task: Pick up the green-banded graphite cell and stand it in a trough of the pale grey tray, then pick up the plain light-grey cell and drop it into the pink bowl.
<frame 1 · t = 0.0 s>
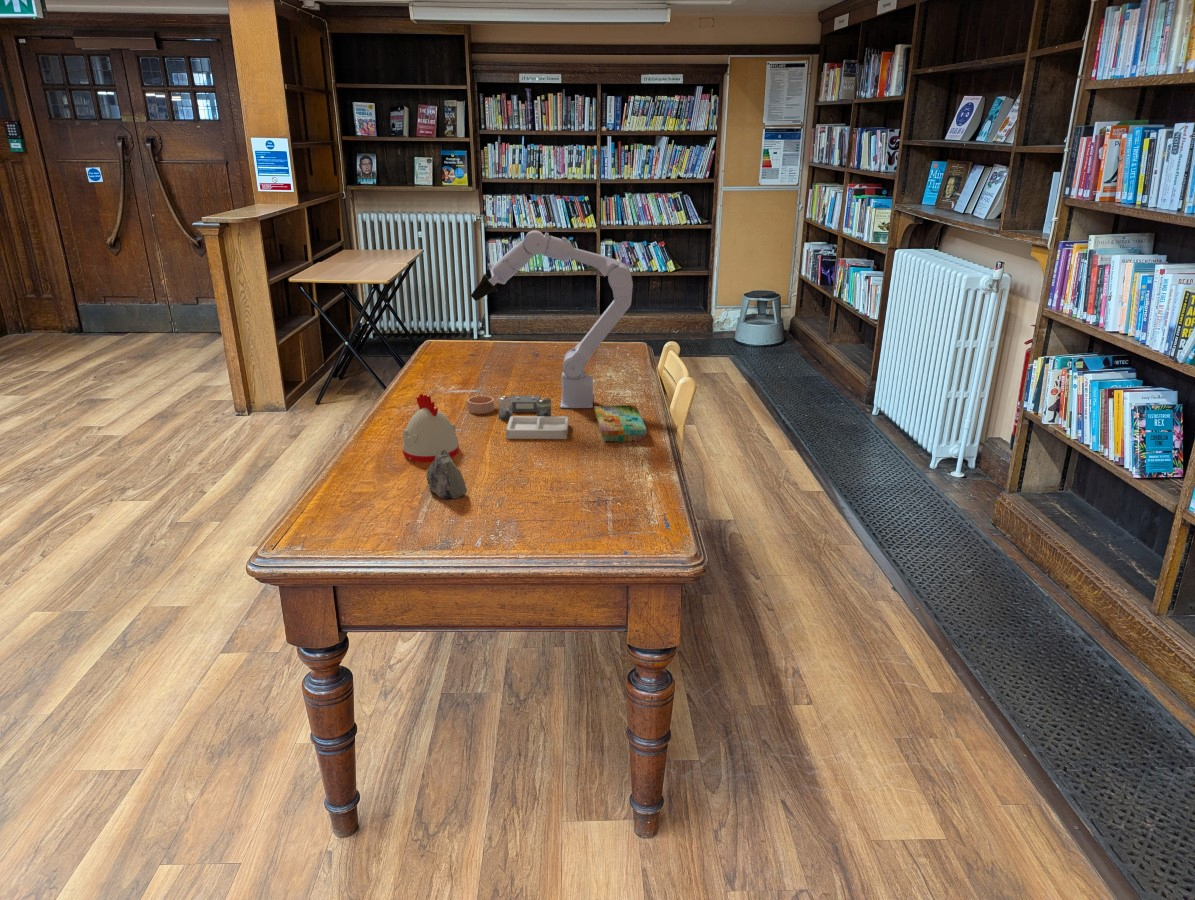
hand: (475, 295, 230), 32 cm above the table, tool tilted 50°, fingers open, 7 cm apart
mineral rock: (447, 489, 186), on the table
pink bowl: (481, 409, 237), on the table
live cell: (544, 420, 229), on the table
puzzle game: (619, 431, 222), on the table
tray: (538, 431, 220), on the table
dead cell: (505, 417, 230), on the table
kitchen timer: (431, 452, 206), on the table
grey box with knobs: (525, 408, 238), on the table
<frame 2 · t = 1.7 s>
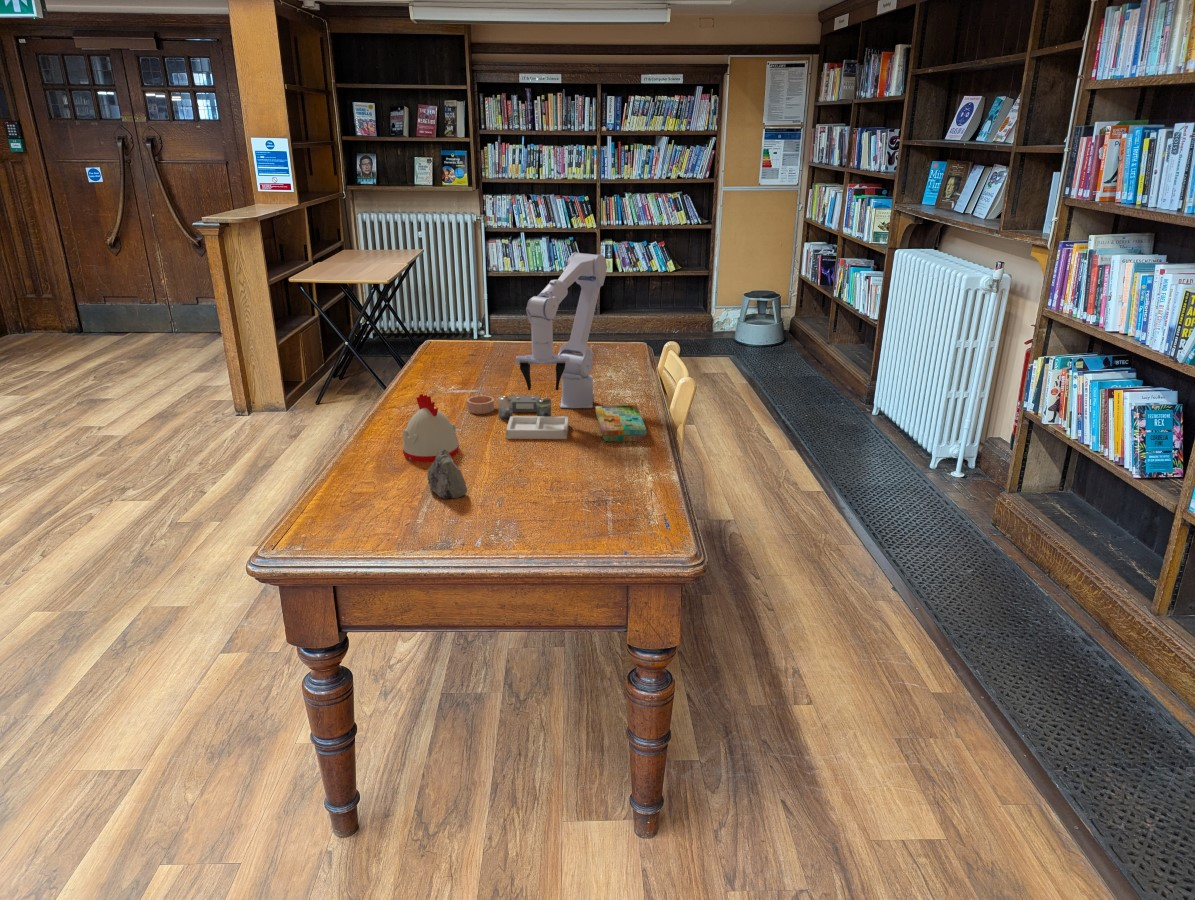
hand: (543, 389, 225), 9 cm above the table, tool pointing down, fingers open, 7 cm apart
nothing on the table moved.
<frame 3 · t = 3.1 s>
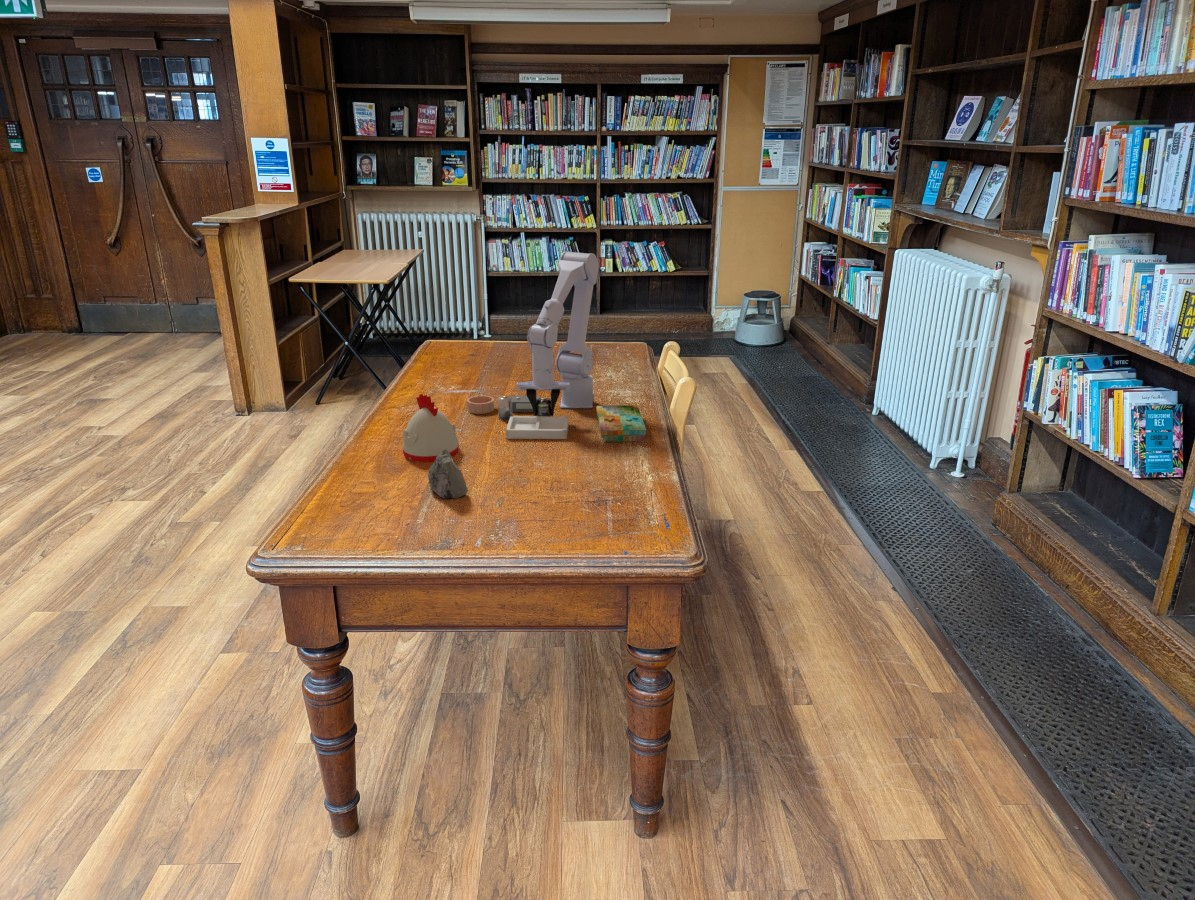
hand: (543, 414, 228), 2 cm above the table, tool pointing down, fingers closed on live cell, 4 cm apart
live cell: (544, 420, 228), on the table, touching gripper
everything else where it was.
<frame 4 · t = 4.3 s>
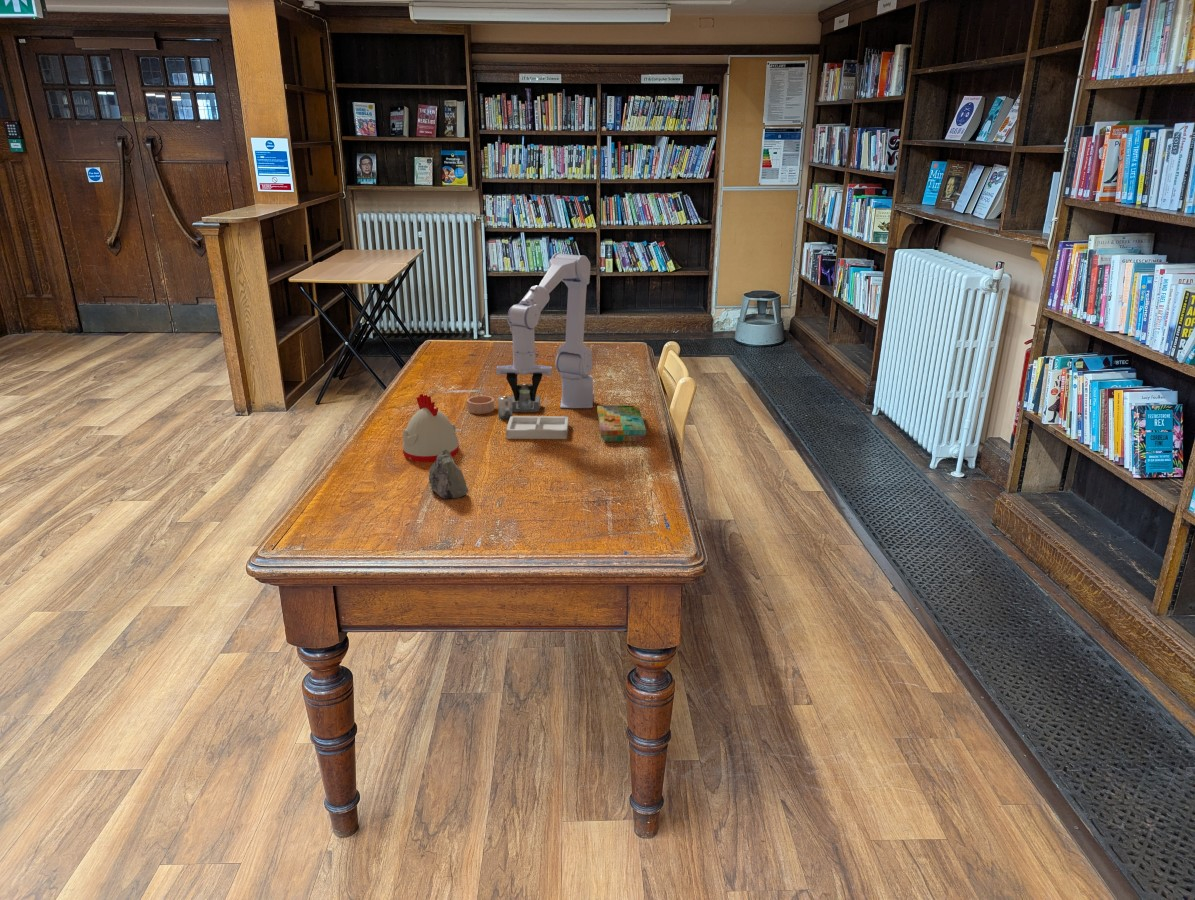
hand: (525, 400, 218), 9 cm above the table, tool pointing down, fingers closed on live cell, 4 cm apart
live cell: (525, 406, 219), point 7 cm above the table, touching gripper
everything else where it was.
when the fingers open (4 cm above the table, at t = 5.7 s): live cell stays where it is, resting on tray.
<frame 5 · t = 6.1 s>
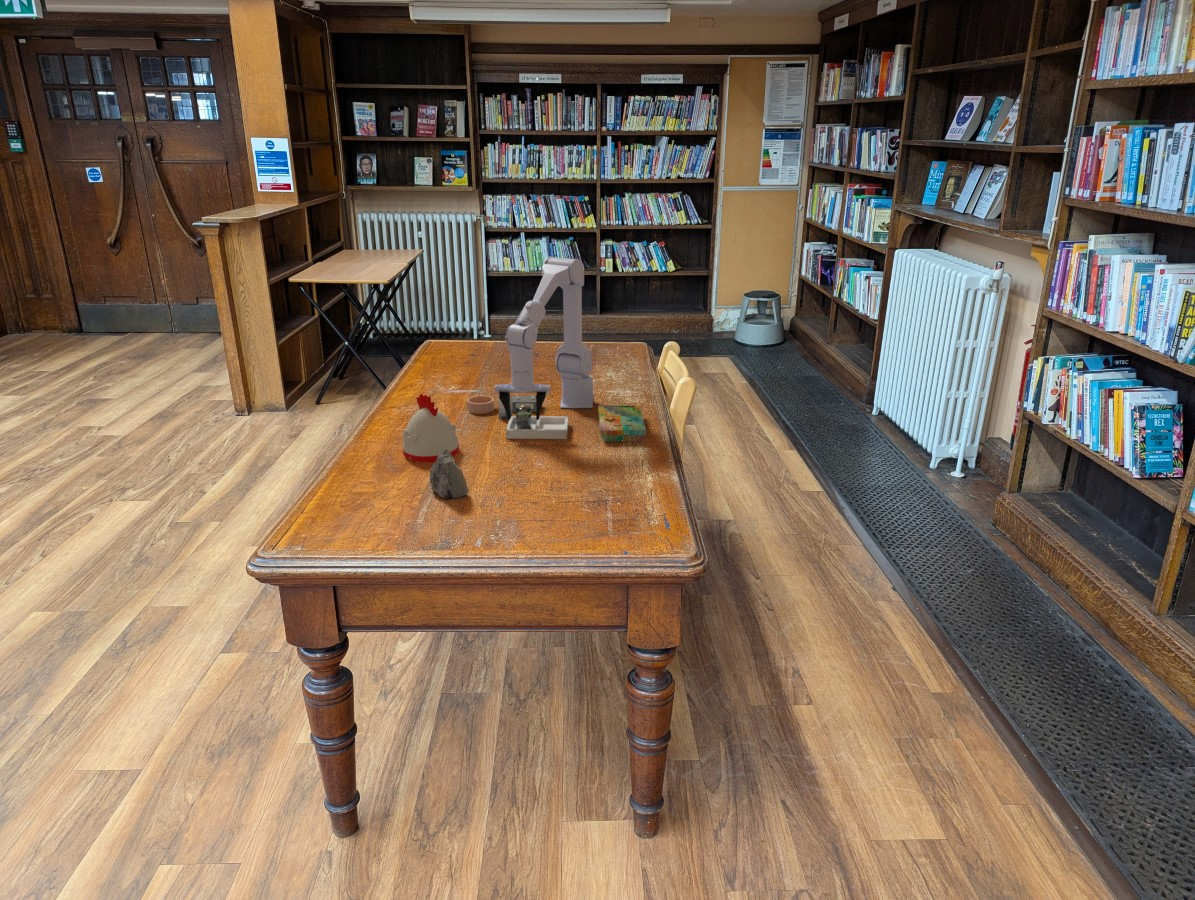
hand: (523, 418, 219), 4 cm above the table, tool pointing down, fingers open, 7 cm apart
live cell: (524, 428, 220), point 1 cm above the table, touching tray
everything else where it was.
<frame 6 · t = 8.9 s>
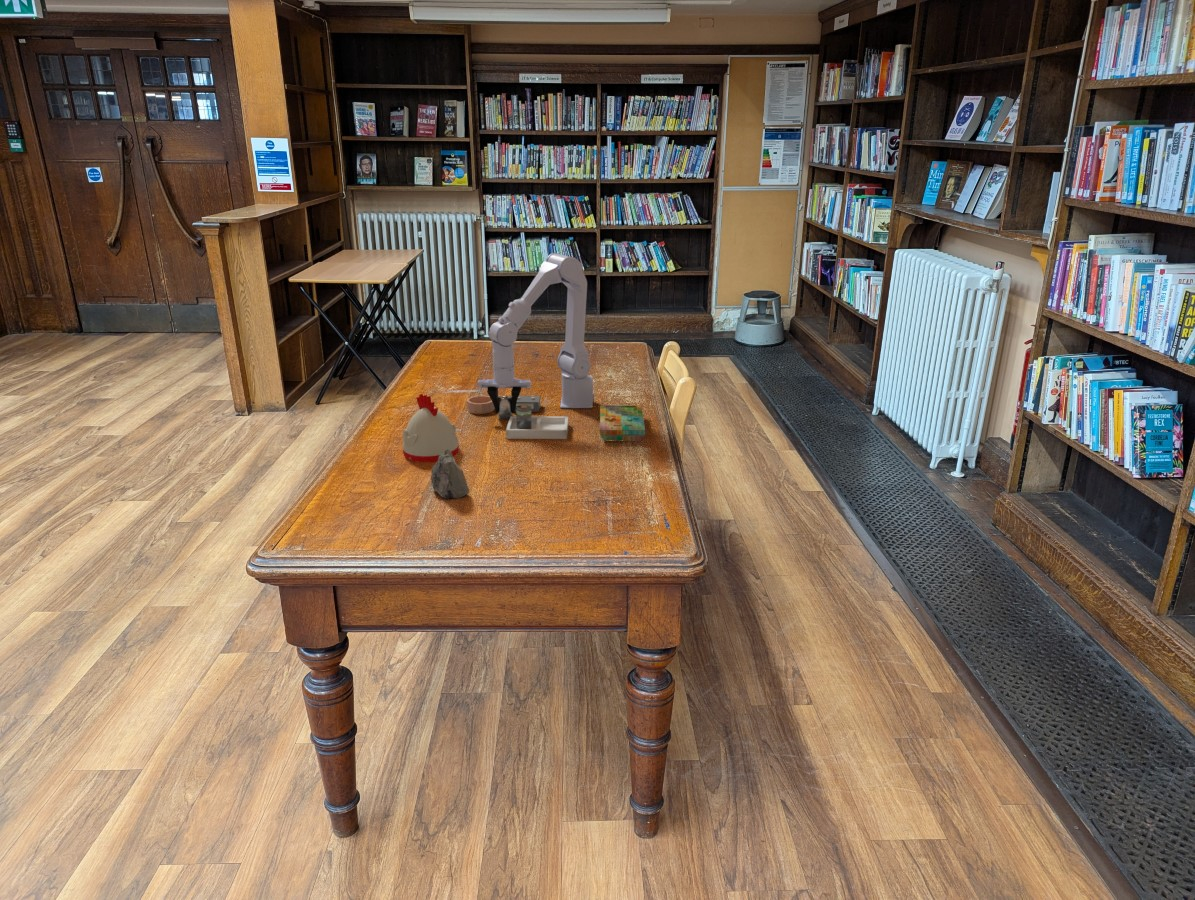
hand: (505, 412, 230), 2 cm above the table, tool pointing down, fingers closed on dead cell, 4 cm apart
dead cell: (505, 417, 230), on the table, touching gripper
everything else where it was.
when the fingers open (4 cm above the table, at t = 11.4 s): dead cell drops 2 cm, resting on pink bowl.
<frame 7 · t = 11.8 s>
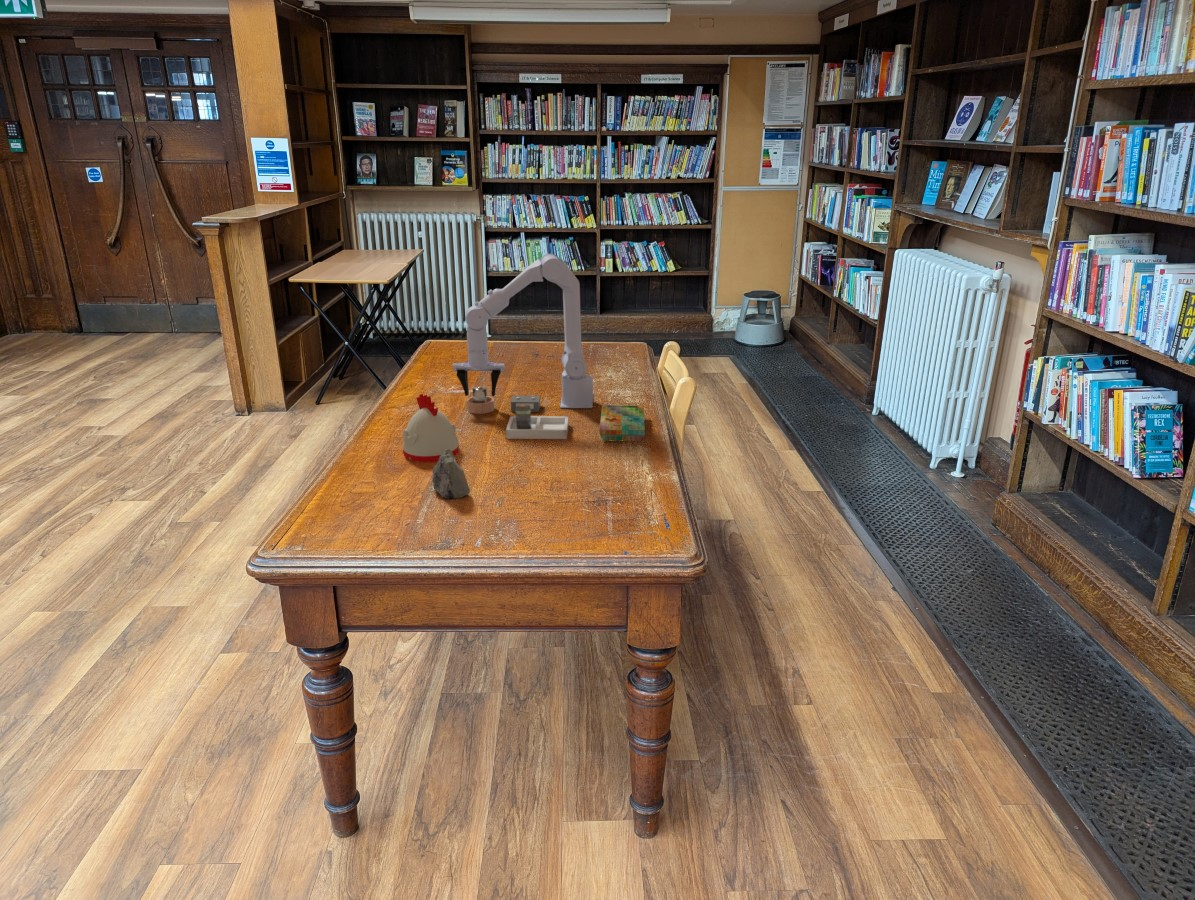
hand: (480, 395, 235), 4 cm above the table, tool pointing down, fingers open, 7 cm apart
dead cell: (480, 408, 237), resting on pink bowl
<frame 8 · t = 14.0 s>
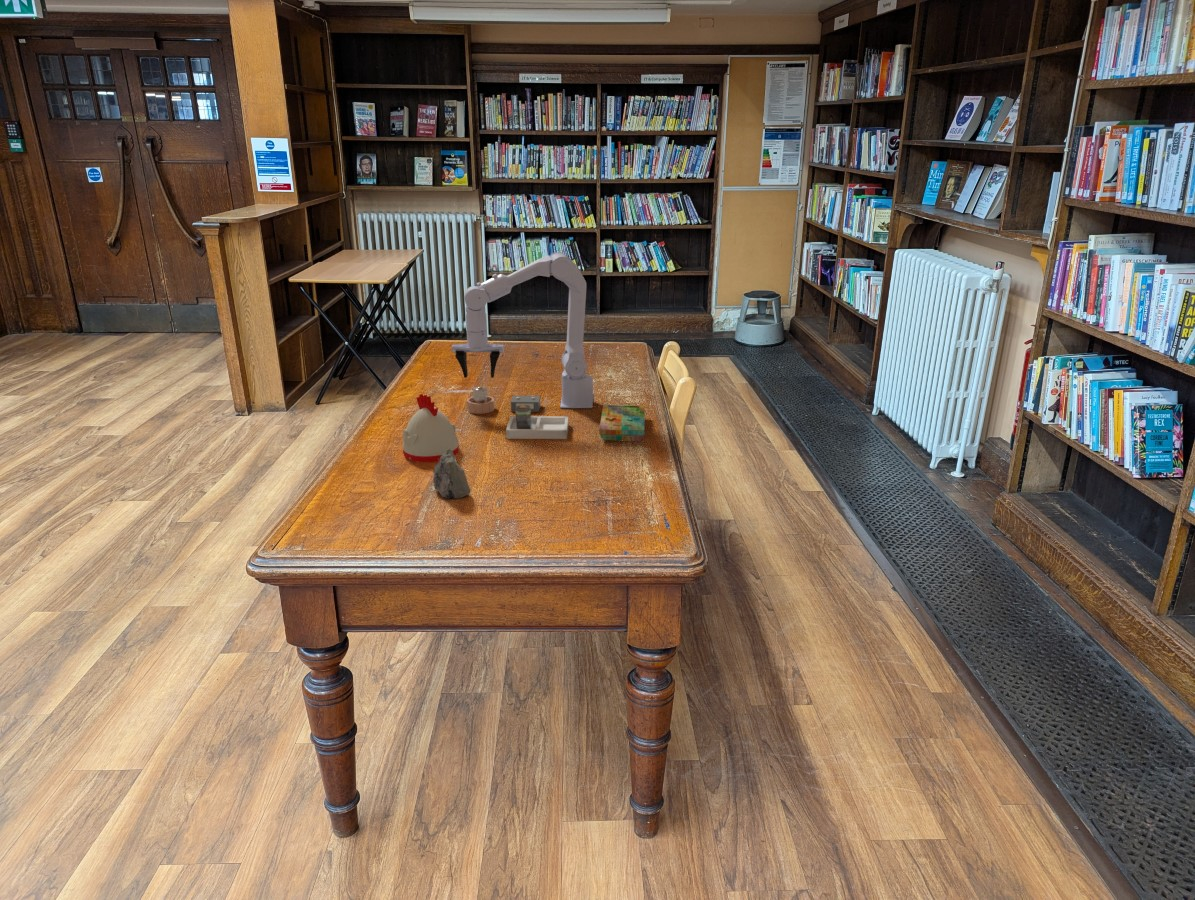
hand: (479, 376, 233), 10 cm above the table, tool pointing down, fingers open, 7 cm apart
at the end: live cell inside the target area on the tray (0.2 cm from its centre), point 0.9 cm above the tray's base; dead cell 0.2 cm from the pink bowl (horizontally); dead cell point 0.5 cm above the table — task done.
